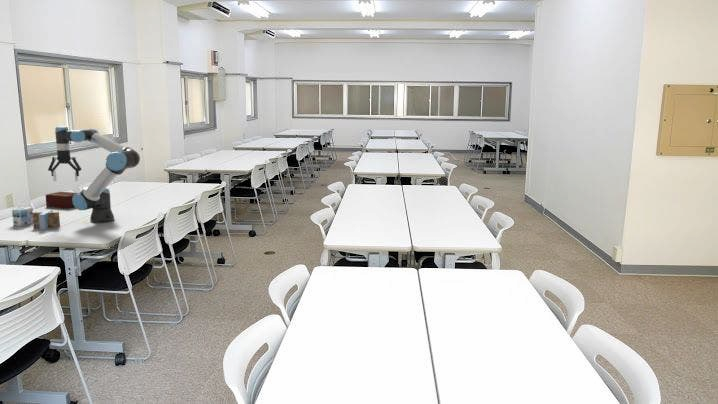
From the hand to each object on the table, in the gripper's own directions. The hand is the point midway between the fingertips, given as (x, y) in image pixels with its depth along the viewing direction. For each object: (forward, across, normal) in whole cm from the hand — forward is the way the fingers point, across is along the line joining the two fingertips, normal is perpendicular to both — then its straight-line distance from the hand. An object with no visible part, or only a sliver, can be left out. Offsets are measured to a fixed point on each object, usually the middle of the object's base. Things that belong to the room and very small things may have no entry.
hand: (65, 181), depth 356 cm
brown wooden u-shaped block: (+29, +9, +14) cm, 33 cm away
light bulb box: (+29, +27, +4) cm, 40 cm away
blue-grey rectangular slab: (+29, +9, +14) cm, 33 cm away
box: (+29, +22, -56) cm, 67 cm away
